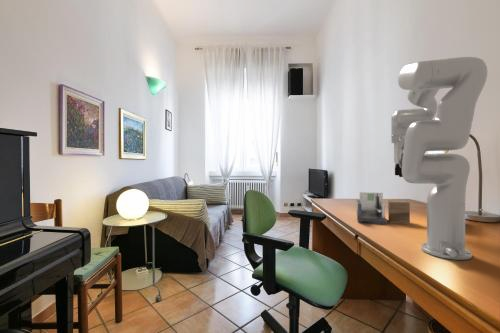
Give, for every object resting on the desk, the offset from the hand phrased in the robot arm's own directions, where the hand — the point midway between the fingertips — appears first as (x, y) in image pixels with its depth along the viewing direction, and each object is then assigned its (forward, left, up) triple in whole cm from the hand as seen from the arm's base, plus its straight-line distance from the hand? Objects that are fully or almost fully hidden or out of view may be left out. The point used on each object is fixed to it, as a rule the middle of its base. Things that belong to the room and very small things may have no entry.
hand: (400, 176), depth 115 cm
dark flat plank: (+3, +9, -20) cm, 23 cm away
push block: (0, +1, -22) cm, 22 cm away
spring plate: (0, +9, -20) cm, 22 cm away
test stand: (0, +13, -22) cm, 25 cm away
